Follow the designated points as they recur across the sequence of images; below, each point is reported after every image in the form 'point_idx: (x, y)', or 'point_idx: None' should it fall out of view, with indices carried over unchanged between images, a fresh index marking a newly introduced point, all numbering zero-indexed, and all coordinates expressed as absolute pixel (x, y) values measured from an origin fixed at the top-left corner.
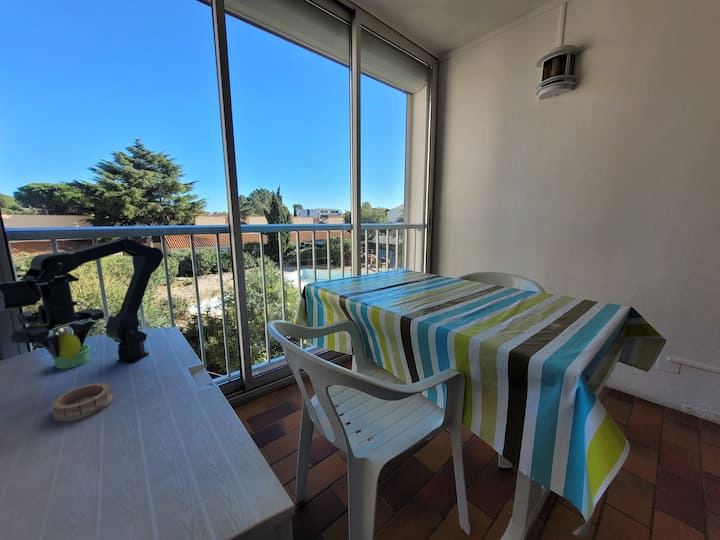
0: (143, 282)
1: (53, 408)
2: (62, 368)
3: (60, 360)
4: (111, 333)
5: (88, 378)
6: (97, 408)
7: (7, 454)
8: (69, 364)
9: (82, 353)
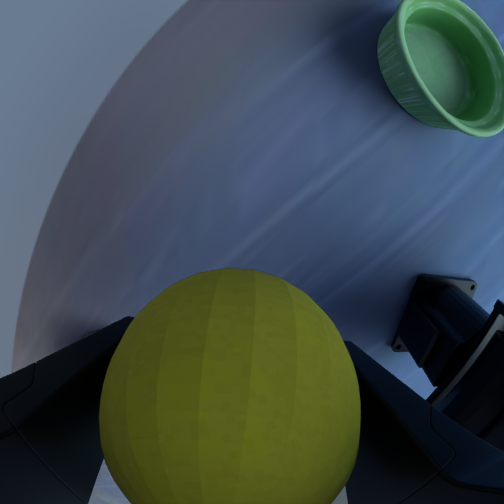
0: None
1: None
2: (378, 60)
3: (395, 49)
4: (475, 411)
5: (286, 269)
6: None
7: (15, 340)
8: (395, 87)
9: (457, 129)
